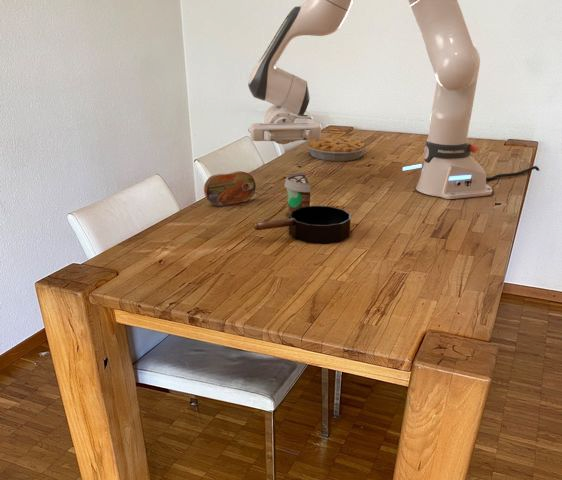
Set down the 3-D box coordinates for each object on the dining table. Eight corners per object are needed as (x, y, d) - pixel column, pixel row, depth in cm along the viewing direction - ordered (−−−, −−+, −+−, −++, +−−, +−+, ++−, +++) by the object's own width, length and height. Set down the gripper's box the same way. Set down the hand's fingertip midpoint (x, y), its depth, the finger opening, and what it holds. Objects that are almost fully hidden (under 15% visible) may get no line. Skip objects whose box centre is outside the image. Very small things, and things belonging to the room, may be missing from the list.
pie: (376, 152, 218) (377, 138, 215) (349, 165, 202) (350, 150, 199) (325, 145, 227) (325, 131, 225) (295, 156, 212) (296, 142, 209)
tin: (207, 208, 163) (205, 177, 158) (203, 205, 165) (201, 174, 160) (256, 200, 168) (255, 170, 164) (251, 197, 171) (251, 168, 166)
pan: (332, 219, 155) (333, 202, 152) (360, 238, 143) (361, 220, 141) (244, 232, 147) (243, 213, 144) (265, 253, 135) (265, 233, 133)
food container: (282, 208, 163) (282, 171, 157) (304, 207, 163) (305, 171, 157) (286, 223, 152) (286, 184, 147) (309, 222, 153) (310, 184, 147)
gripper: (247, 116, 169) (251, 126, 157) (316, 115, 171) (325, 124, 160) (247, 139, 172) (251, 150, 161) (315, 138, 175) (324, 148, 163)
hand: (288, 137), depth 160 cm, fingers open, 8 cm apart
